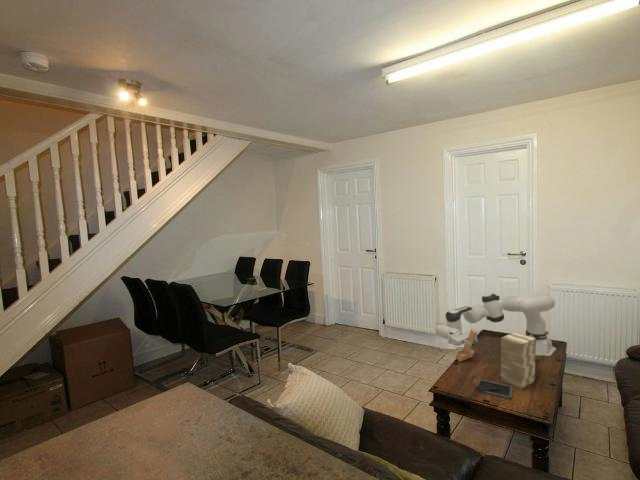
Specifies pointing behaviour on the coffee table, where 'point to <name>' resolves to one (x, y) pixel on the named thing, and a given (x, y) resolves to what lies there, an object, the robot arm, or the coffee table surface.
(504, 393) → the picture frame
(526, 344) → the pedestal
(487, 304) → the robot arm
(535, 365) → the mug
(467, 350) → the t bar
